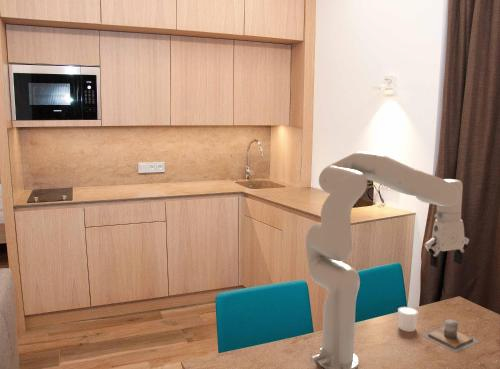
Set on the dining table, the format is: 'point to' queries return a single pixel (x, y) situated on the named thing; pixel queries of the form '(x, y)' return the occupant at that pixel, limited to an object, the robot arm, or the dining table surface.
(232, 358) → the dining table surface
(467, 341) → the lid
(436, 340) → the mat
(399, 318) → the pale pink cup
